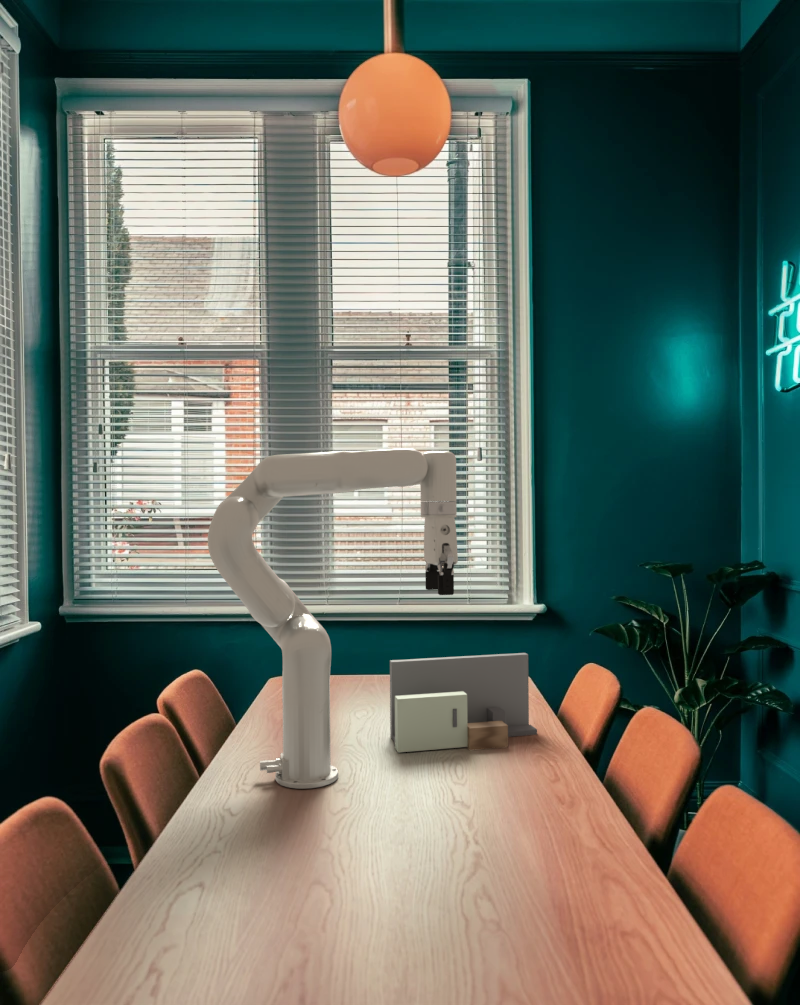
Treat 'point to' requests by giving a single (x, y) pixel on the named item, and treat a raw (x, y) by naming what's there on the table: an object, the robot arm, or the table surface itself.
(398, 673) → the grey upright panel
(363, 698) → the table surface
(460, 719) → the door
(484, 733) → the walnut block
